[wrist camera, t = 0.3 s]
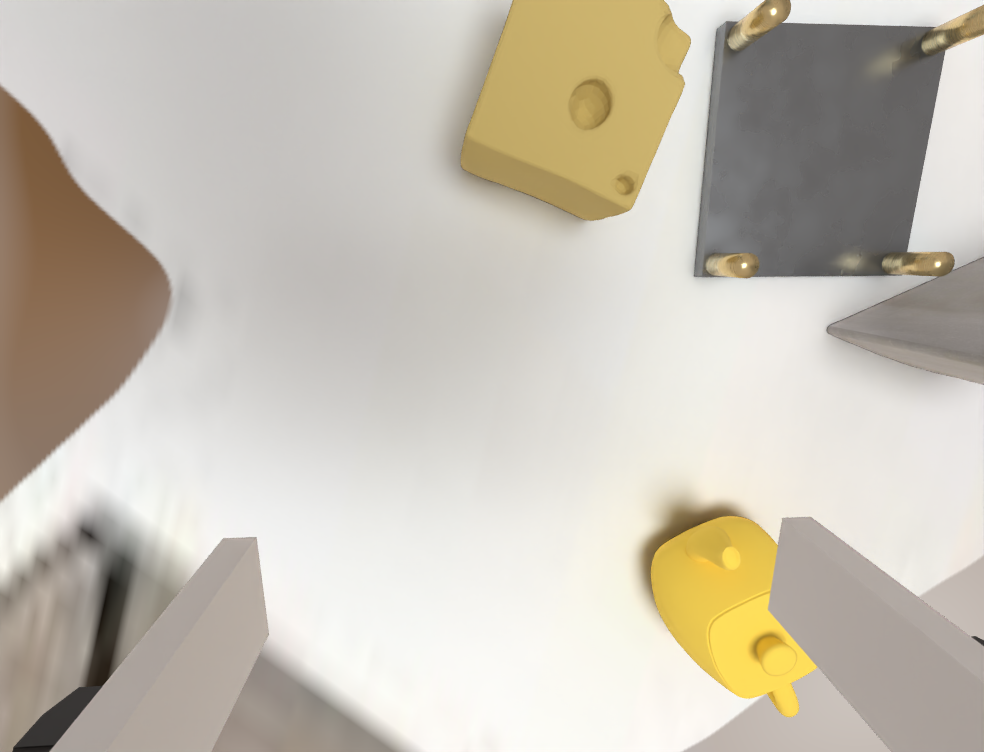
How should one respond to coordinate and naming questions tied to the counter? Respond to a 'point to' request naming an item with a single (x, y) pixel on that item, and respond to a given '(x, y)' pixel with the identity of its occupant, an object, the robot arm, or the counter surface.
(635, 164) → the cheese
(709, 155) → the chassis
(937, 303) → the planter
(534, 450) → the counter surface
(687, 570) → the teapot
